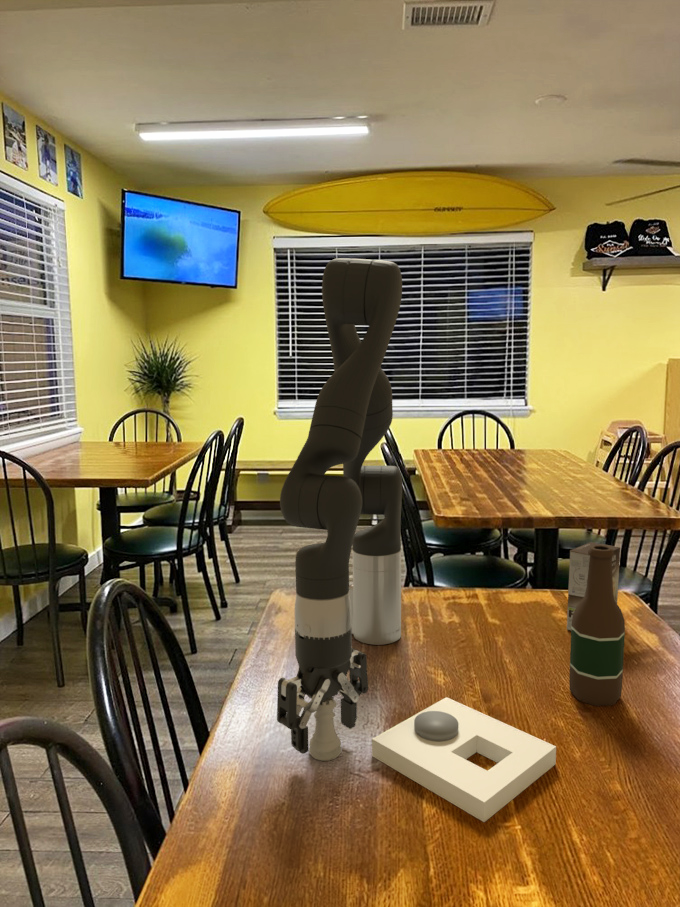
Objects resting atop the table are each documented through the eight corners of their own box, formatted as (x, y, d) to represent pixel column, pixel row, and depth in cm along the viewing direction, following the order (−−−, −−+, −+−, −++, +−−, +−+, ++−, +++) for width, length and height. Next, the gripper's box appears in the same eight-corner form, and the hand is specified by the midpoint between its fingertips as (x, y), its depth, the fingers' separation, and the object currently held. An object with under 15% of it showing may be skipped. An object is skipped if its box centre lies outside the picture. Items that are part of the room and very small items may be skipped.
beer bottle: (597, 712, 100) (604, 557, 96) (558, 690, 107) (563, 545, 103) (632, 699, 103) (640, 550, 100) (592, 679, 110) (598, 538, 107)
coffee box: (597, 639, 126) (601, 557, 124) (565, 629, 130) (568, 550, 128) (617, 624, 132) (621, 546, 130) (586, 616, 137) (589, 540, 135)
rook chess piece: (338, 764, 88) (337, 707, 87) (305, 760, 89) (304, 704, 88) (344, 745, 92) (343, 691, 91) (313, 742, 93) (312, 688, 92)
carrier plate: (372, 756, 90) (372, 731, 89) (446, 712, 100) (446, 690, 100) (484, 822, 76) (484, 794, 76) (555, 764, 87) (556, 739, 87)
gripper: (343, 602, 95) (344, 708, 98) (262, 630, 86) (266, 747, 88) (380, 617, 90) (381, 728, 92) (299, 648, 80) (302, 772, 83)
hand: (325, 737), depth 90 cm, fingers open, 8 cm apart
